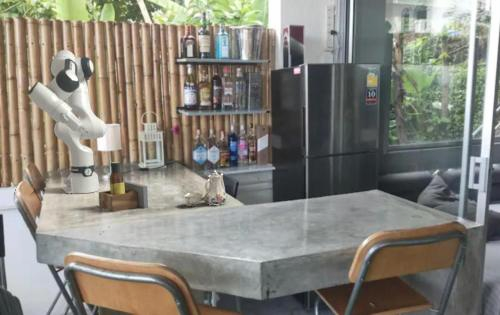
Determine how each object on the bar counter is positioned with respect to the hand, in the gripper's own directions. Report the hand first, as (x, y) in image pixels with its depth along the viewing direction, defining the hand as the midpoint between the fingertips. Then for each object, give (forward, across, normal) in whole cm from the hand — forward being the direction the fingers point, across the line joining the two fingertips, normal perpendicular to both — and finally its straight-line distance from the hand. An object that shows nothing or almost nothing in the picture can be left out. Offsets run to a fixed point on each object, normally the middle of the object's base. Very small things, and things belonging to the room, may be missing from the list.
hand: (87, 134), depth 194 cm
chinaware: (+62, -12, -14) cm, 64 cm away
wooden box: (+32, -5, +15) cm, 36 cm away
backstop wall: (+37, -1, +10) cm, 38 cm away
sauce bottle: (+31, -4, +15) cm, 35 cm away
